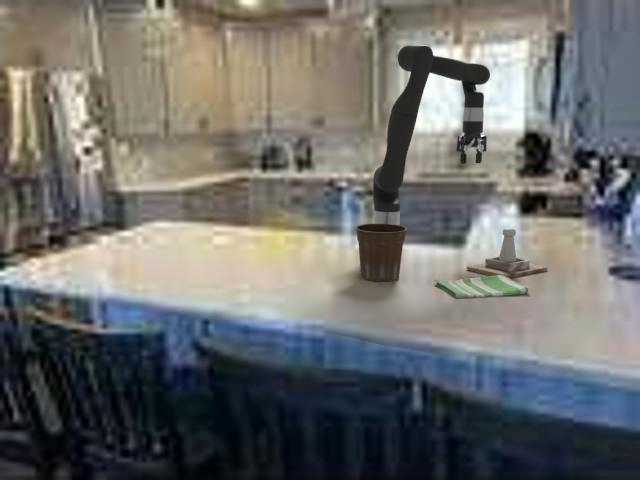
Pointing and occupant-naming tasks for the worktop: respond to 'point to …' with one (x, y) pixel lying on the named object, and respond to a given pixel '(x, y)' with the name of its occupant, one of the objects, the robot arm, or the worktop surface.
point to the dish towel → (483, 287)
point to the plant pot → (380, 251)
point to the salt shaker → (508, 246)
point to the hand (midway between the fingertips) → (470, 163)
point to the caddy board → (507, 268)
